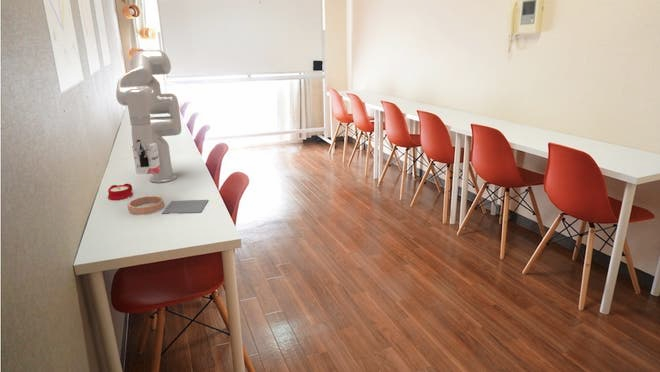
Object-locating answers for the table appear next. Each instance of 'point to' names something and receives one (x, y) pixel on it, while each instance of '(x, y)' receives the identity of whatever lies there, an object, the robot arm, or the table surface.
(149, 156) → the ink box
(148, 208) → the copper faceted ring
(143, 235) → the table surface
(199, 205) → the mat
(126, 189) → the alarm clock
